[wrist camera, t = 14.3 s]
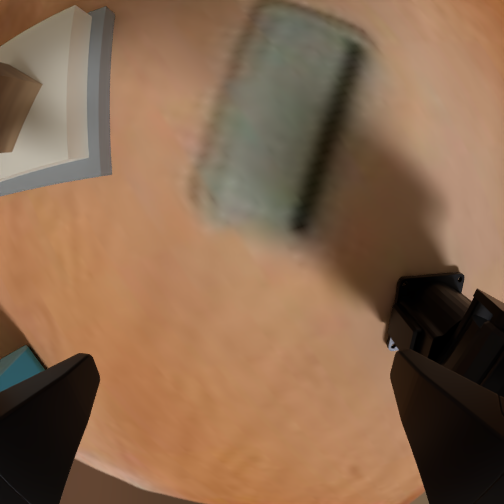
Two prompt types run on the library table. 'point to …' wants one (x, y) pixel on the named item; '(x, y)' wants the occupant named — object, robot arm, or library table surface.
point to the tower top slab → (51, 92)
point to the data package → (18, 367)
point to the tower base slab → (96, 117)
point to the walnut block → (14, 103)
